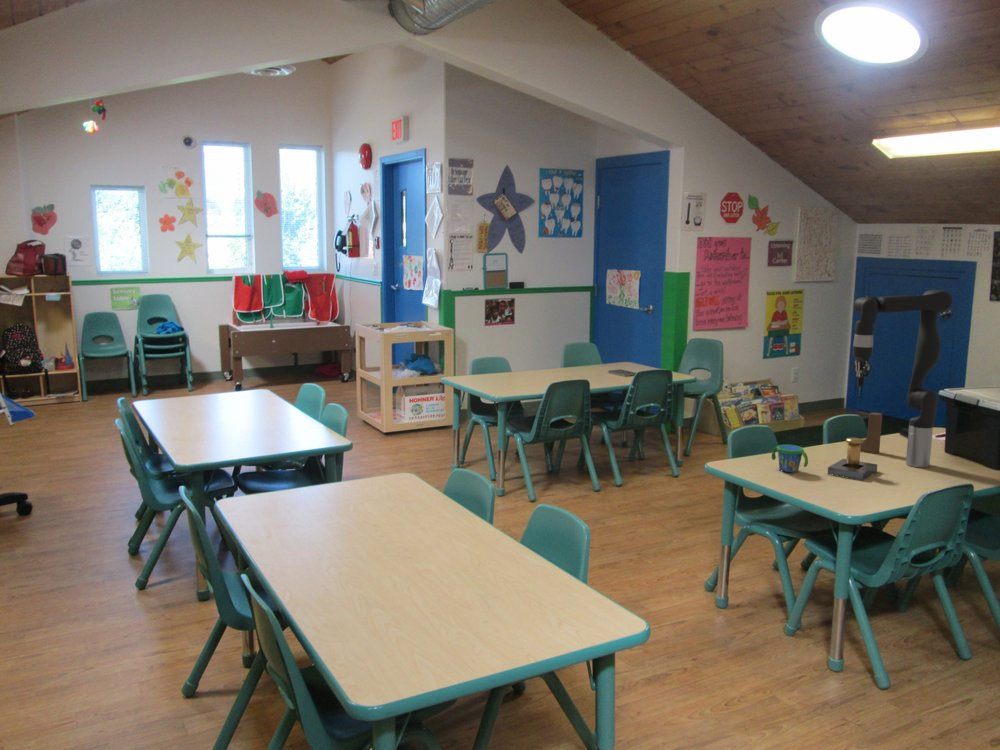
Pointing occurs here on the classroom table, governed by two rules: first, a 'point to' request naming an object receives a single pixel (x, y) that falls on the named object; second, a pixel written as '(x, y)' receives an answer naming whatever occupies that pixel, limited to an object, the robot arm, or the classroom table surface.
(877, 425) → the wooden block
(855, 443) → the brass flanged peg
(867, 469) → the plate
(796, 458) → the snack cup
